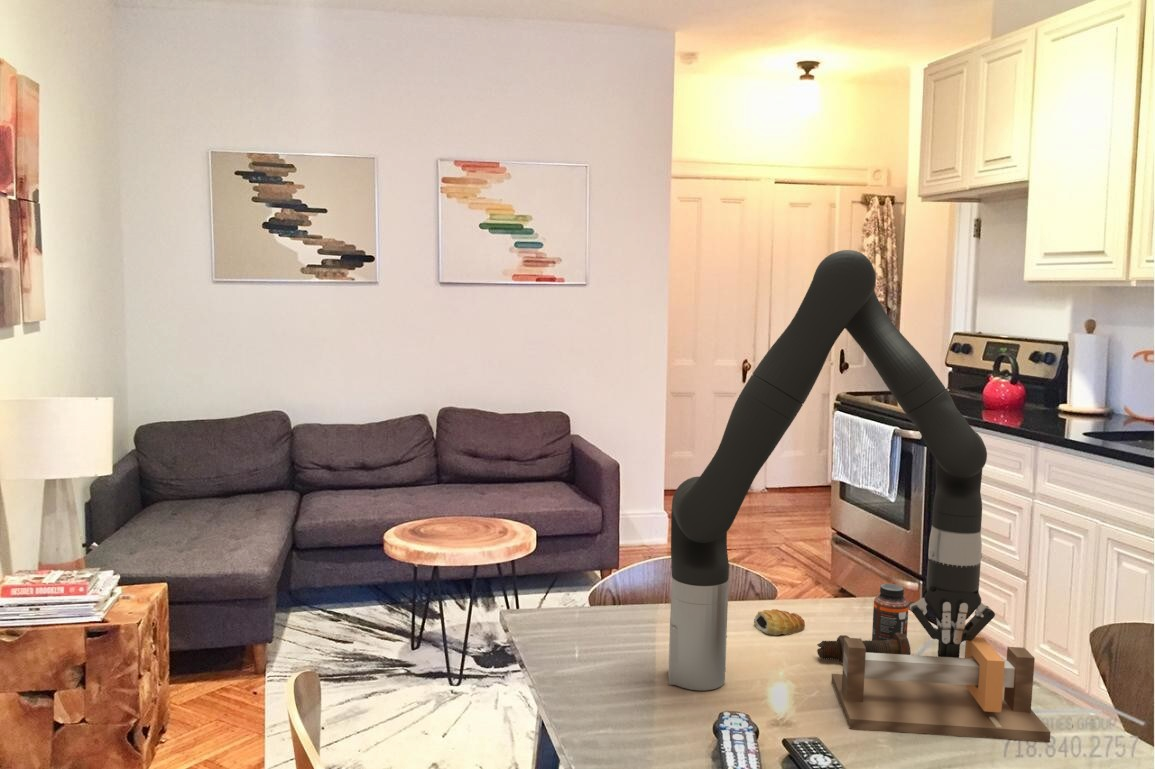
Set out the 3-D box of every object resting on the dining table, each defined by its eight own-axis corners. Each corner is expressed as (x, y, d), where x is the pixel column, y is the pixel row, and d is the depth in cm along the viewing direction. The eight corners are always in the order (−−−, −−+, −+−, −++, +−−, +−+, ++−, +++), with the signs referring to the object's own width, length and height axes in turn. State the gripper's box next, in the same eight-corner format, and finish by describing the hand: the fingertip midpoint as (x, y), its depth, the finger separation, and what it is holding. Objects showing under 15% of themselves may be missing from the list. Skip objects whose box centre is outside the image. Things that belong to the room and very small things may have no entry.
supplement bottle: (910, 654, 162) (914, 592, 161) (877, 653, 162) (880, 591, 161) (899, 641, 168) (903, 581, 167) (867, 640, 168) (870, 581, 167)
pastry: (792, 621, 178) (793, 602, 178) (812, 633, 172) (813, 614, 171) (750, 626, 175) (751, 606, 175) (769, 639, 169) (770, 619, 168)
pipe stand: (849, 728, 134) (853, 663, 133) (831, 682, 150) (834, 623, 148) (1049, 741, 131) (1054, 674, 130) (1009, 693, 147) (1013, 633, 146)
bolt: (817, 669, 160) (904, 669, 159) (823, 665, 155) (912, 665, 155) (814, 635, 162) (899, 634, 161) (819, 630, 157) (907, 630, 157)
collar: (984, 711, 134) (987, 660, 134) (963, 682, 144) (966, 635, 143) (1001, 712, 134) (1004, 661, 133) (978, 683, 144) (981, 635, 143)
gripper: (990, 551, 144) (983, 657, 146) (904, 547, 145) (898, 652, 147) (1007, 565, 137) (1000, 677, 138) (916, 561, 138) (910, 671, 140)
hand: (947, 664), depth 143 cm, fingers closed
